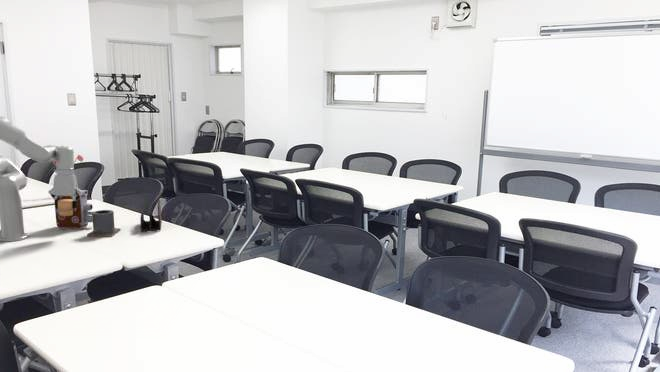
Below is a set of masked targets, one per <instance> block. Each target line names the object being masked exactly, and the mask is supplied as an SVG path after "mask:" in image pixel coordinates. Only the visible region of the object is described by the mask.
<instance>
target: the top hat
mask: <svg viewBox="0 0 660 372" xmlns="http://www.w3.org/2000/svg"><path fill="white" fill-rule="evenodd" d="M91 212H92V218H93V222H92V229H93V230H92V231H90V232H89V233H87V234H86V236H87V238H96V237H97V238H100V237H101V238H106V237H107V238H108V237H109V238H112V237H114V236H115V235H116V234H118V233H120V231H121V227H120V228H119V227H118V228H117V227H116V226H115V215H114V213H115V212H114V211H113V210H112V209H102V210H94V211H91Z"/></svg>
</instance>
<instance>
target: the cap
mask: <svg viewBox="0 0 660 372" xmlns="http://www.w3.org/2000/svg"><path fill="white" fill-rule="evenodd" d="M72 201H73V200H72V199H64V200H59V201H58V210H60V215H61V216H71V215H73V206H72Z"/></svg>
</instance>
